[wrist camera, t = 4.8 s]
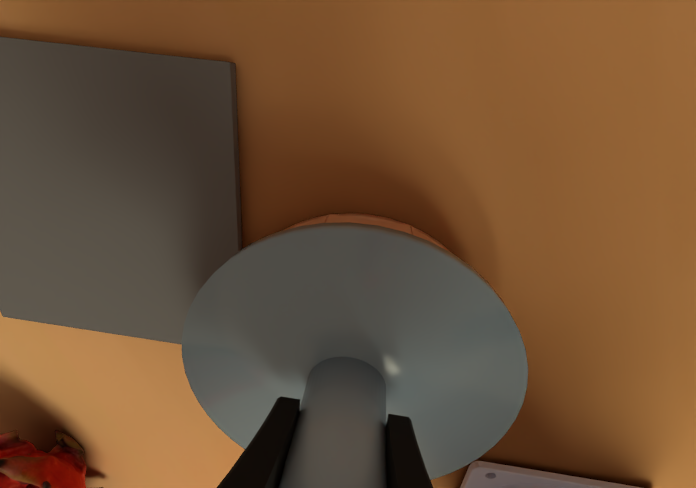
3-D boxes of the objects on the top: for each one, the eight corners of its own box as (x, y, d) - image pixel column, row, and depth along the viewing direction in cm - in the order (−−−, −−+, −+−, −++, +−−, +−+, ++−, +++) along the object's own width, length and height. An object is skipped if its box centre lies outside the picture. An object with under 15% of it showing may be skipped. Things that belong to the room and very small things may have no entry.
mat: (235, 63, 10) (230, 62, 10) (246, 347, 15) (242, 353, 15) (-106, 25, 11) (-123, 23, 11) (11, 311, 16) (3, 316, 16)
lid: (567, 232, 9) (730, 354, 5) (484, 487, 14) (526, 654, 10) (156, 213, 10) (-10, 299, 6) (218, 456, 15) (155, 596, 11)
